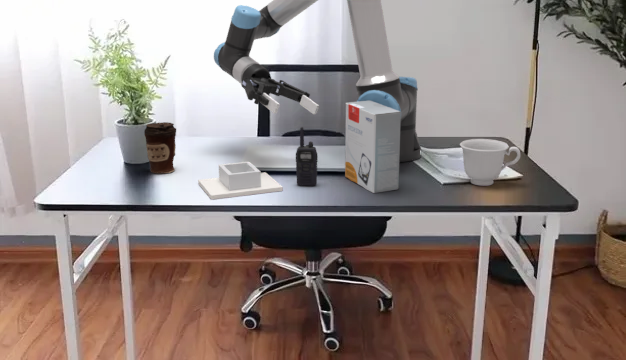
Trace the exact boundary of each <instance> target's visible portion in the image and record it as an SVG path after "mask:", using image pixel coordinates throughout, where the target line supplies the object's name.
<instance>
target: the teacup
mask: <svg viewBox="0 0 626 360" xmlns="http://www.w3.org/2000/svg"><path fill="white" fill-rule="evenodd" d="M459 146H460V147H461V149H462V156H463V157H462V158H463V168H464V172H465V174H466V176H468V177H469V178H470V183H471V184H473V185H476V186H480V187H481V186H484V187H485V186H486V187H487V186H491V185H493V184H494V180H495V179H497V178H498V177H499V176H500V175H501V172H502V171H503V170H504V169H505V168H506V167H509V166H512V165H515V164H516V163H518V162H519V160H520V159H521V151H520V149H519V147H517V146H509V145H508V143H507V142H504V141H500V140H497V139H490V138H488V139H487V138H472V139H465V140H463V141H461V142H460V143H459ZM507 150H508V151H507ZM511 152H515V153H516V157H515V158H514V159H513V160H511V161H507V162H506V163H504V161H505V160H504V159H505V155H506V156H510V154H511Z"/></svg>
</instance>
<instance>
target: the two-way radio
mask: <svg viewBox="0 0 626 360" xmlns="http://www.w3.org/2000/svg"><path fill="white" fill-rule="evenodd" d="M299 132H300V133H299V146H298V147H297V148H296V151H295V165H296V166H295V171H296V172H295V173H296V174H295V175H296V184H297V185H298V186H311V187H313V186H317V183H318V162H319V160H318V159H319V157H318V156H319V155H318V152H317V148H316V147H315V146H314V142H313V141H312V140H311V141H309V142H308V144H306V145H305V134H304V127H303V126H301V127H300V128H299Z"/></svg>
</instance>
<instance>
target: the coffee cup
mask: <svg viewBox="0 0 626 360" xmlns="http://www.w3.org/2000/svg"><path fill="white" fill-rule="evenodd" d="M174 125H175V124H174V123H172V122H168V121H167V122H155V123H148V124H146V127H145V129H144V132H143V133H144V137H145V146H146V153H147V159H148V161H149V168H150V172H151V173H153V174H170V173H173V172H175V169H176V168H175V167H174V159H175V156H176V136H177V128H176V127H174Z"/></svg>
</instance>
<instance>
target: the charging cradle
mask: <svg viewBox="0 0 626 360" xmlns="http://www.w3.org/2000/svg"><path fill="white" fill-rule="evenodd" d="M197 181H198V185H199V186H200V188H201V189H202V190H203V191H204V192H205V194H206V195H207V196H208V198H210V200H220V199H227V198H235V197H243V196H251V195H258V194H268V193H277V192H282V191H284V186H282V185H281V184H280V183H279V182H278V181H276V180H275V179H274V178H273V177H272V176H271V175H269V174H268V173H267V172H266V171H265V172H261V170H259V168H257V167H256V166H255V165H254V164H253V163H251V162H250V161H240V162H234V163H233V162H231V163H225V164H224V163H223V164H218V177H213V178H212V177H211V178H202V179H198V180H197Z"/></svg>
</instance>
